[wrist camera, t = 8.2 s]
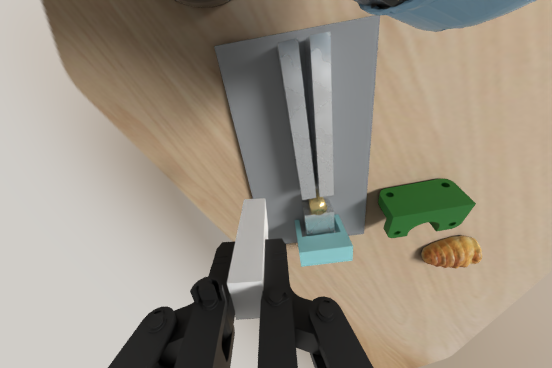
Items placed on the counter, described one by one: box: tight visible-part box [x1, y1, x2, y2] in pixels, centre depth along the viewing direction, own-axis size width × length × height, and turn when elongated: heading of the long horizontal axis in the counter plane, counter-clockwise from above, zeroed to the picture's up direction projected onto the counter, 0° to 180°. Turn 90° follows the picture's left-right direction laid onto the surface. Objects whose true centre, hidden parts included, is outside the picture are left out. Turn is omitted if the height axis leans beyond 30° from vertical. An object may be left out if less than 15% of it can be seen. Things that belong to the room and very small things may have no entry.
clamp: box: [378, 179, 476, 238], centre depth 33 cm, size 12×6×9 cm, turn 95°
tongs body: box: [302, 32, 335, 236], centre depth 29 cm, size 31×4×4 cm, turn 9°
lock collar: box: [295, 215, 353, 267], centre depth 33 cm, size 3×8×7 cm, turn 99°
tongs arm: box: [277, 38, 316, 200], centre depth 26 cm, size 19×2×4 cm, turn 11°
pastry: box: [421, 235, 482, 268], centre depth 39 cm, size 9×7×4 cm
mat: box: [214, 15, 380, 244], centre depth 31 cm, size 32×18×1 cm, turn 9°
